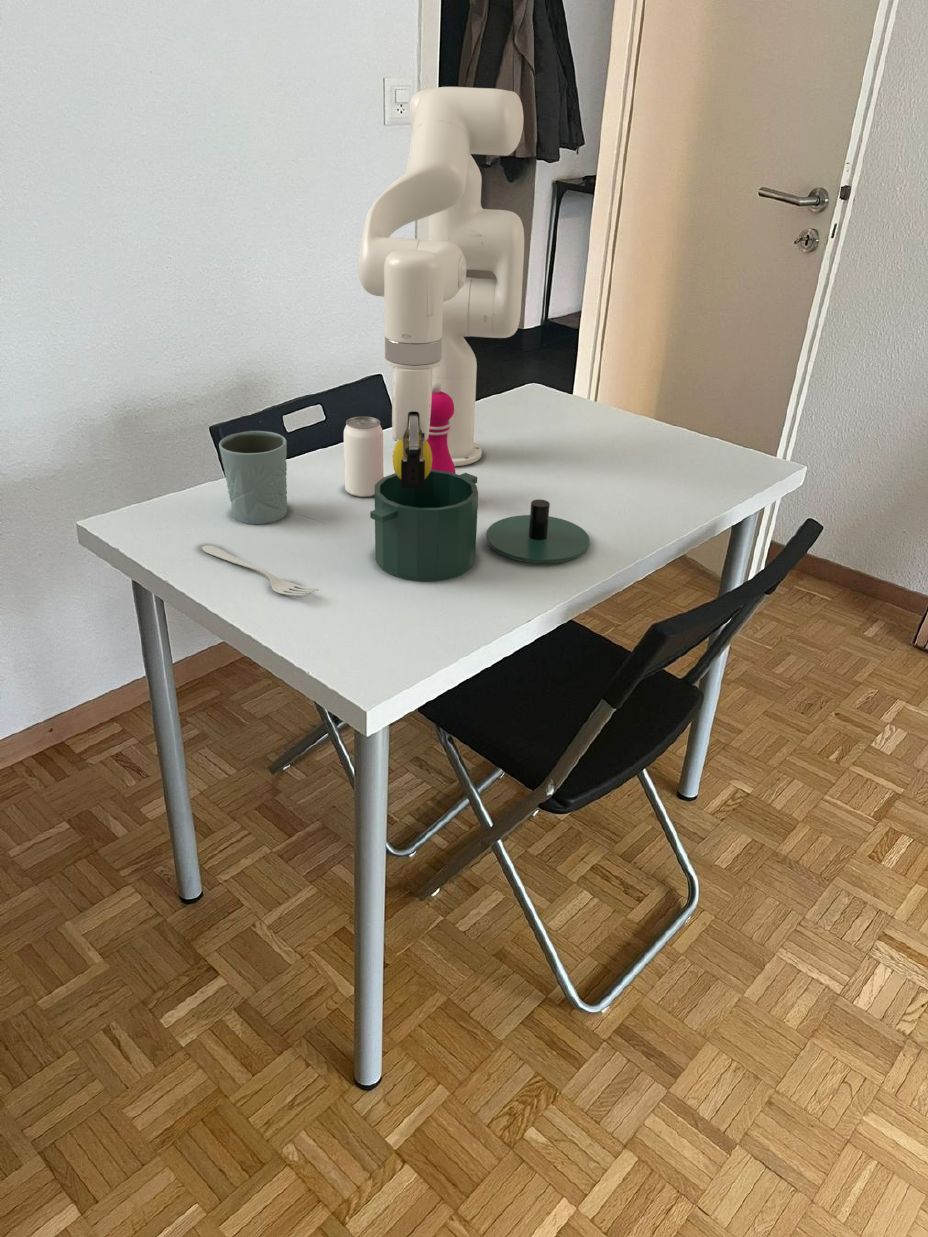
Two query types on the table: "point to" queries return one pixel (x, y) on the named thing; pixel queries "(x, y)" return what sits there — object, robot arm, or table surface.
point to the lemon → (399, 456)
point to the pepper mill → (440, 429)
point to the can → (363, 455)
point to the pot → (426, 526)
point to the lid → (537, 536)
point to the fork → (276, 583)
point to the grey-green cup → (256, 475)
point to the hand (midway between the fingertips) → (412, 477)
